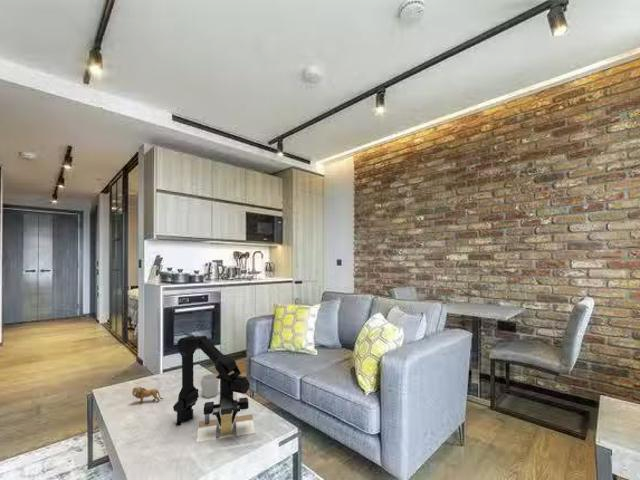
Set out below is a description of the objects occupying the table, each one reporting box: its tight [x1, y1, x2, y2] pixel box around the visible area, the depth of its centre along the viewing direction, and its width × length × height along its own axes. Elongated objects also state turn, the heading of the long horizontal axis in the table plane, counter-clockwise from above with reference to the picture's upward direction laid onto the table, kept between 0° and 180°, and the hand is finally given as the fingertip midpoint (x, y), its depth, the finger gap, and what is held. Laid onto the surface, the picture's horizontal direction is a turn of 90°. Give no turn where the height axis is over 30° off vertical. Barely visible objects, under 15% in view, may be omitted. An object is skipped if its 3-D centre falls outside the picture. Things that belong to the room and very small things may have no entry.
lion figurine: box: [131, 386, 164, 406], centre depth 168 cm, size 15×5×9 cm, turn 113°
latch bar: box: [221, 413, 232, 434], centre depth 139 cm, size 8×4×4 cm, turn 16°
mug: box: [200, 373, 220, 399], centre depth 177 cm, size 13×9×10 cm
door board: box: [195, 413, 256, 443], centre depth 142 cm, size 24×16×5 cm
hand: (226, 425), depth 139 cm, fingers closed on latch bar, 4 cm apart
